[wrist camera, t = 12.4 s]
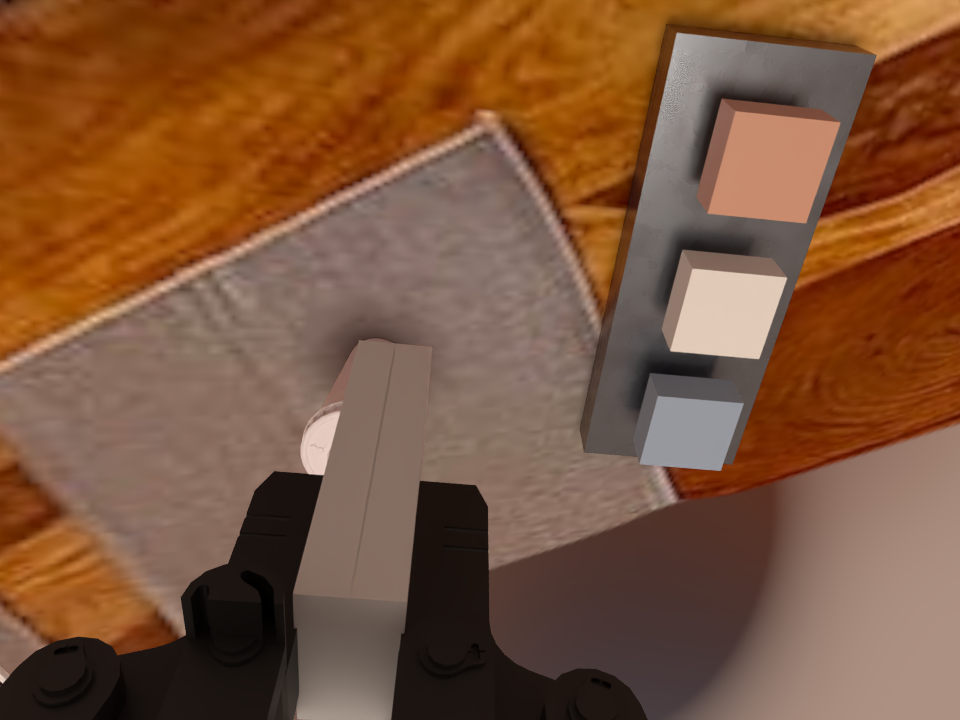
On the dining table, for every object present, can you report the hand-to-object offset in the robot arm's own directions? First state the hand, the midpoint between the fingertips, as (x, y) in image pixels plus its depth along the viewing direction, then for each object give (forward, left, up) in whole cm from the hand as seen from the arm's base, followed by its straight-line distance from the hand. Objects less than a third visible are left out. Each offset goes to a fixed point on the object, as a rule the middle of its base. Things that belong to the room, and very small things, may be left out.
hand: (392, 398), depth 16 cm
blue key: (+17, +16, -28) cm, 36 cm away
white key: (+9, +16, -28) cm, 33 cm away
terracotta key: (+1, +16, -28) cm, 32 cm away
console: (+9, +16, -29) cm, 35 cm away
